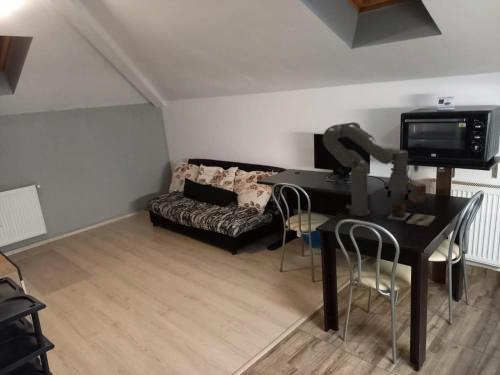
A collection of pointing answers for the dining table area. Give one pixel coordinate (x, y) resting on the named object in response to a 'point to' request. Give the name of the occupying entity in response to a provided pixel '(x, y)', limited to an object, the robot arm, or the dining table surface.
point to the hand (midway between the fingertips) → (397, 198)
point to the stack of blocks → (416, 192)
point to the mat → (398, 217)
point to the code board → (421, 219)
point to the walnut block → (399, 210)
